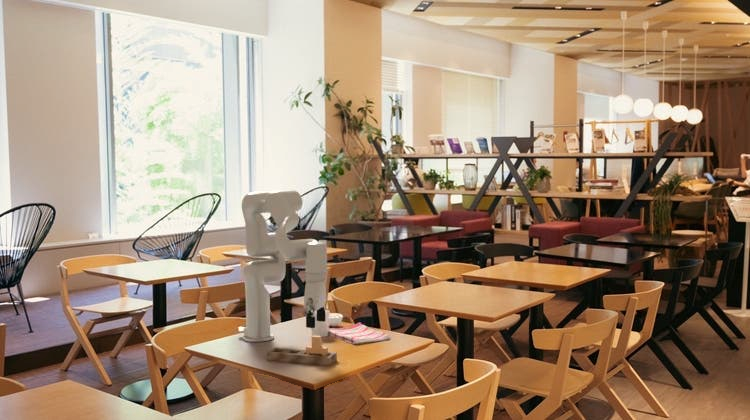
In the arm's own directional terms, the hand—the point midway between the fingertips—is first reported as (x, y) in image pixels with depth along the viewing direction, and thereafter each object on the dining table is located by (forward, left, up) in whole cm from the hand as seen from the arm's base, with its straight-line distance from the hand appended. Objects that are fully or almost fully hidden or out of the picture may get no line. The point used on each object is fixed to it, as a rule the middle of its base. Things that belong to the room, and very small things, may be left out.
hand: (315, 324), depth 258 cm
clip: (0, 0, -13) cm, 13 cm away
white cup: (-13, +37, -14) cm, 41 cm away
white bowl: (-15, +53, -14) cm, 57 cm away
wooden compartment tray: (-5, 0, -14) cm, 15 cm away
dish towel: (+2, +39, -14) cm, 41 cm away
